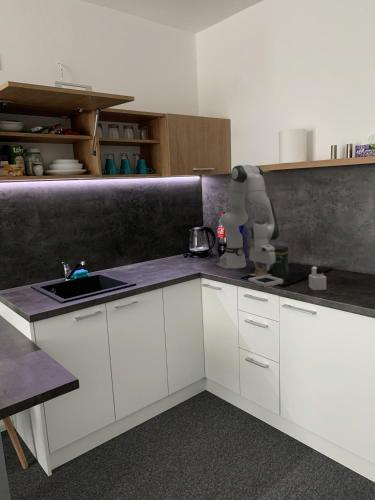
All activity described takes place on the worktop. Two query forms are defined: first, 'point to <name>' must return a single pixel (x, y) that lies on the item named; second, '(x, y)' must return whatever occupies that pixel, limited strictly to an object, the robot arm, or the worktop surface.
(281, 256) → the coffee jar
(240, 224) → the robot arm
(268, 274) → the stake
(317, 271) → the medicine bottle
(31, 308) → the worktop surface
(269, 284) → the tray
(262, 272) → the collar
